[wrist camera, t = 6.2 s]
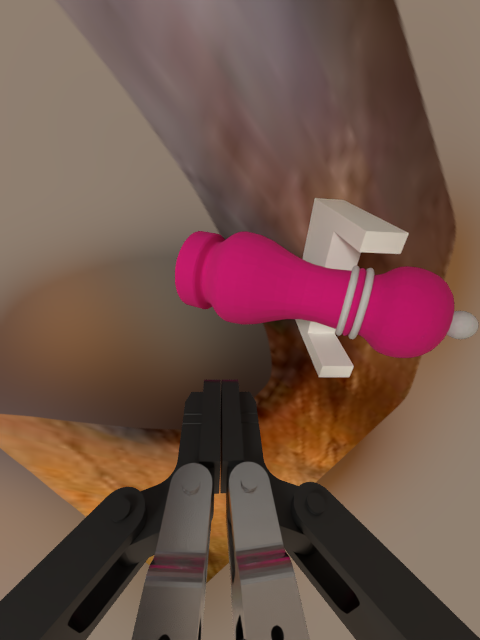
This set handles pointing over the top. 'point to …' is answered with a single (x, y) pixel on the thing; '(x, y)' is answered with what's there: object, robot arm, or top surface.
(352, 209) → the u rest
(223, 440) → the robot arm
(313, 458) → the top surface
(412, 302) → the pepper mill
